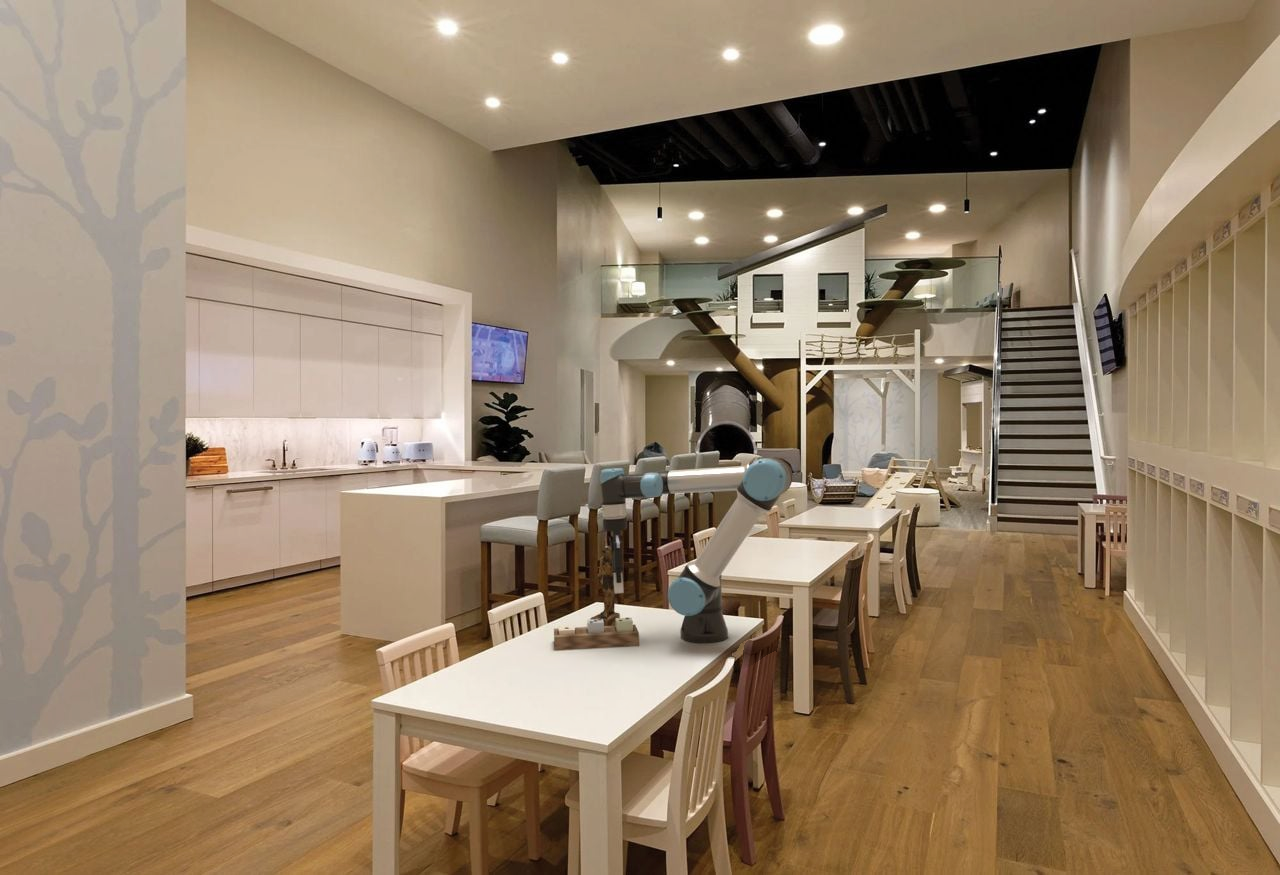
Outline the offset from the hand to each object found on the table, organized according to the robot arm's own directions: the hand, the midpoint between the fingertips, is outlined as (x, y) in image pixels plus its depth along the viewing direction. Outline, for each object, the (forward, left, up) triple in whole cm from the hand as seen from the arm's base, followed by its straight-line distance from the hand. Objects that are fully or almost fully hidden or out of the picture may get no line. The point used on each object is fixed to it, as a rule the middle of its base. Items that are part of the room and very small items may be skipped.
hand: (619, 592), depth 253 cm
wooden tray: (+6, +5, -16) cm, 17 cm away
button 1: (+12, +11, -15) cm, 22 cm away
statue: (+16, -12, -16) cm, 25 cm away
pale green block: (-1, -1, -13) cm, 13 cm away
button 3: (+6, +5, -13) cm, 15 cm away
